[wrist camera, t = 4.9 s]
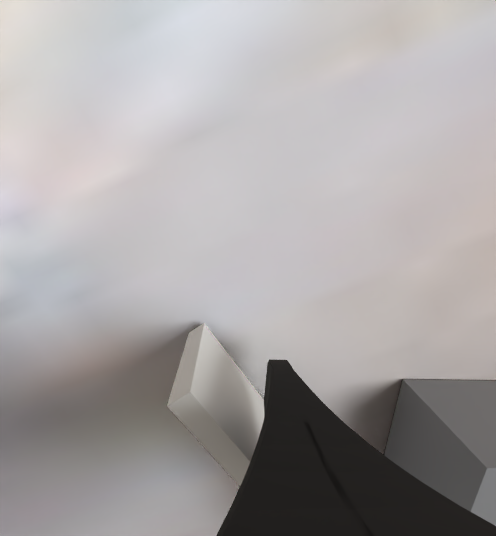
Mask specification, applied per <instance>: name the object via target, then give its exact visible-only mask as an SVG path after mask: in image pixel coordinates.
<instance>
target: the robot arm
mask: <svg viewBox="0 0 496 536" xmlns="http://www.w3.org/2000/svg"><path fill="white" fill-rule="evenodd" d="M217 536H496V526H495V525H493V524H491V523H490V522H488V521H486V520H484V519H483V518H481V517H479V516H477V515H476V514H474V513H472V512H470V511H468V510H467V509H465V508H463V507H461V506H460V505H458V504H456V503H455V502H453V501H451V500H450V499H448V498H447V497H445V496H443V495H442V494H440V493H439V492H437V491H436V490H434V489H432V488H431V487H429V486H428V485H426V484H424V483H423V482H421V481H420V480H418V479H417V478H415V477H414V476H412V475H411V474H409V473H408V472H407V471H405V470H404V469H402V468H401V467H399V466H398V465H397V464H395V463H394V462H393V461H391V460H390V459H388V458H387V457H386V456H384V455H383V454H382V453H380V452H379V451H378V450H376V449H375V448H374V447H372V446H371V445H370V444H369V443H367V442H366V441H365V440H364V439H363V438H361V437H360V436H359V435H358V434H356V433H355V432H354V431H353V430H352V429H350V428H349V427H348V426H347V425H346V424H345V423H344V422H343V421H341V420H340V419H339V418H338V417H337V416H336V415H335V414H334V413H333V412H332V411H331V410H330V409H329V408H328V407H327V406H326V405H325V404H324V403H323V402H322V401H321V400H320V399H319V398H318V397H317V396H316V395H315V394H314V393H313V392H312V390H311V389H310V388H309V387H308V386H307V385H306V384H305V383H304V381H303V380H302V379H301V378H300V377H299V376H298V375H297V373H296V372H295V371H294V370H293V368H292V366H291V365H290V364H289V362H288V361H287V360H269V362H268V365H267V375H266V385H265V396H264V421H263V425H262V428H261V432H260V435H259V438H258V441H257V444H256V447H255V450H254V453H253V456H252V459H251V461H250V464H249V467H248V469H247V472H246V474H245V476H244V479H243V481H242V483H241V486H240V488H239V490H238V492H237V495H236V497H235V499H234V502H233V504H232V506H231V508H230V510H229V512H228V514H227V516H226V518H225V520H224V522H223V524H222V526H221V528H220V530H219V532H218V534H217Z"/></svg>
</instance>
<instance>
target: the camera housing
mask: <svg viewBox="0 0 496 536" xmlns="http://www.w3.org/2000/svg"><path fill="white" fill-rule="evenodd" d="M384 456H386V457H387V458H388V459H390V460H391V461H393V462H394V463H395V464H397V465H398V466H399V467H401V468H402V469H404V470H405V471H407V472H408V473H409V474H411V475H412V476H414V477H415V478H417V479H418V480H420V481H421V482H423V483H424V484H426V485H428V486H429V487H431V488H432V489H434V490H436V491H437V492H439V493H440V494H442V495H443V496H445V497H447V498H448V499H450V500H451V501H453V502H455V503H456V504H458V505H460V506H461V507H463V508H465V509H467V510H468V511H470V512H472V513H474V514H476V515H477V516H479V517H481V518H483V519H484V520H486V521H488V522H490V523H491V524H493V525H495V526H496V381H493V380H425V379H403V380H402V384H401V388H400V392H399V396H398V400H397V404H396V408H395V412H394V417H393V421H392V425H391V429H390V433H389V437H388V441H387V445H386V449H385V453H384Z"/></svg>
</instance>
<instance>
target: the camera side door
mask: <svg viewBox="0 0 496 536" xmlns="http://www.w3.org/2000/svg"><path fill="white" fill-rule="evenodd" d="M167 407H168V408H169V409H170V410H171V412H172V413H173V414H174V415H175V416H176V417H177V418H178V419H179V420H180V421H181V422H182V424H183V425H184V426H185V427H186V428H187V429H188V430H189V431H190V432H191V433H192V435H193V436H194V437H195V438H196V439H197V440H198V441H199V442H200V443H201V444H202V446H203V447H204V448H205V449H206V450H207V451H208V452H209V453H210V454H211V455H212V457H213V458H214V459H215V460H216V461H217V462H218V463H219V464H220V465H221V466H222V467H223V469H224V470H225V471H226V472H227V473H228V474H229V475H230V476H231V477H232V478H233V480H234V481H235V482H236V483H237V484H238V485H239V486H241V483H242V481H243V479H244V476H245V474H246V472H247V469H248V467H249V464H250V461H251V459H252V456H253V453H254V450H255V447H256V444H257V441H258V438H259V435H260V432H261V428H262V425H263V421H264V400H263V399H262V397H261V396H260V395H259V393H258V392H257V391H256V389H255V388H254V387H253V386H252V384H251V383H250V382H249V380H248V379H247V378H246V376H245V375H244V374H243V372H242V371H241V370H240V369H239V367H238V366H237V365H236V363H235V362H234V361H233V359H232V358H231V357H230V356H229V354H228V353H227V352H226V350H225V349H224V348H223V346H222V345H221V344H220V343H219V341H218V340H217V339H216V337H215V336H214V335H213V333H212V332H211V331H210V330H209V328H208V327H207V326H206V324H205V323H203V324H202V325H200V326H199V327H197V328H195V329H194V330H192V331H191V332H189V334H188V338H187V341H186V344H185V347H184V351H183V354H182V357H181V361H180V364H179V367H178V371H177V374H176V377H175V381H174V384H173V387H172V390H171V394H170V397H169V400H168V404H167Z"/></svg>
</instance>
